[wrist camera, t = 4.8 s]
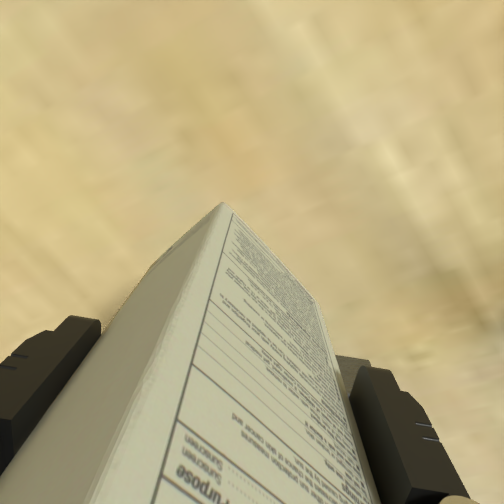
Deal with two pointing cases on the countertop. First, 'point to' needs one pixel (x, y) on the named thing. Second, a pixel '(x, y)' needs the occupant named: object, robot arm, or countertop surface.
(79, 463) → the skincare box
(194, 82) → the countertop surface
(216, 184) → the countertop surface
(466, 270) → the countertop surface
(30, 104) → the countertop surface
